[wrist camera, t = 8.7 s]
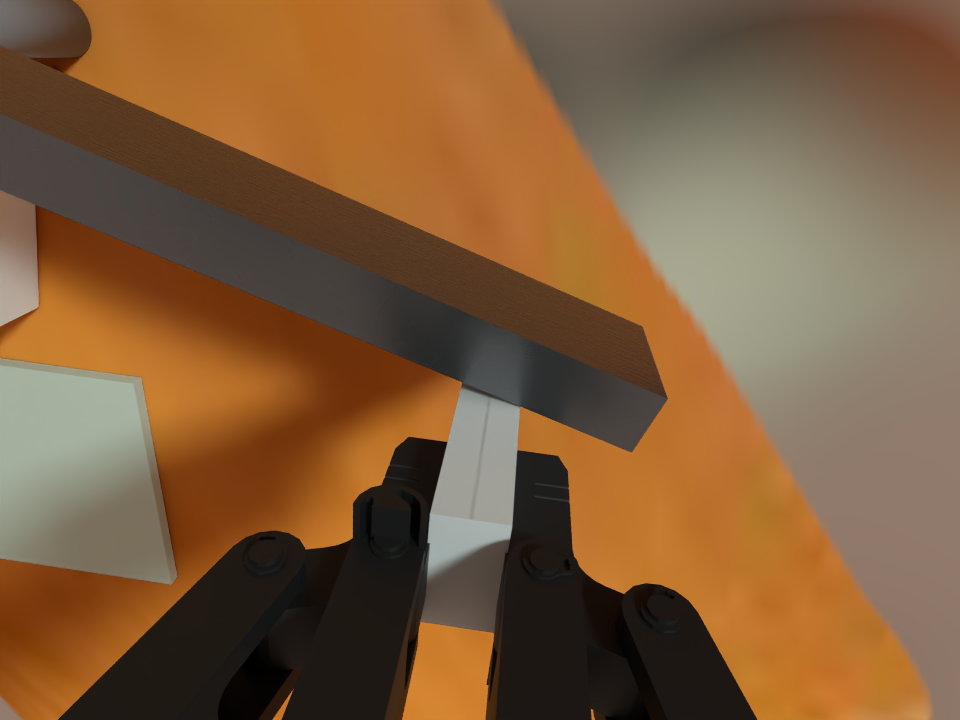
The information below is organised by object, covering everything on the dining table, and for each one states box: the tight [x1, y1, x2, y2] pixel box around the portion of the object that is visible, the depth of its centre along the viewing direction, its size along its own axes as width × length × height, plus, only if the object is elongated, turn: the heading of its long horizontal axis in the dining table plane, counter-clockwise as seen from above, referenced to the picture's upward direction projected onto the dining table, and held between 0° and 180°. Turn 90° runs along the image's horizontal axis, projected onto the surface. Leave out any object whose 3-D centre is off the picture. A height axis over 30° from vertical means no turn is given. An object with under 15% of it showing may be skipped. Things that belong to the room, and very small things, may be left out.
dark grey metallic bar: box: [0, 45, 668, 452], centre depth 14 cm, size 23×3×5 cm, turn 67°
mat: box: [0, 358, 177, 585], centre depth 31 cm, size 13×13×1 cm
